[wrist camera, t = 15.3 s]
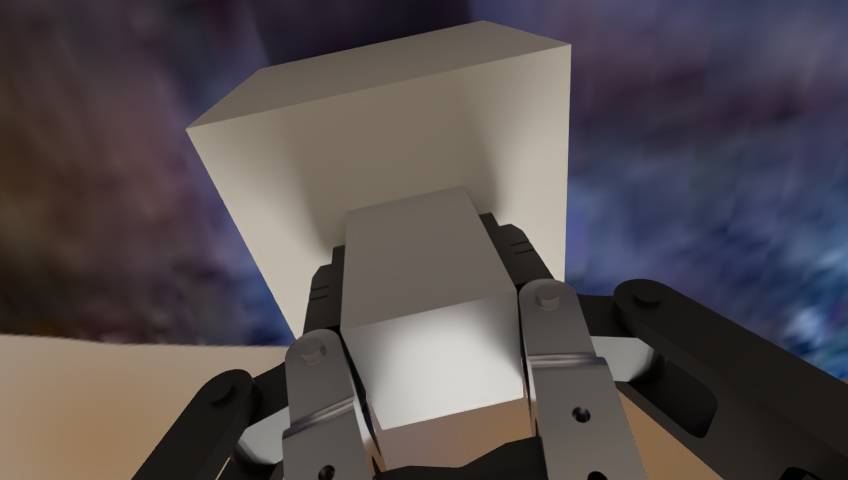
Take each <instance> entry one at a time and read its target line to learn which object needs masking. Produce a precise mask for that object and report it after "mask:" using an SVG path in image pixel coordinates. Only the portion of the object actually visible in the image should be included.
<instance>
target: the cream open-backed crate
mask: <svg viewBox="0 0 848 480" xmlns="http://www.w3.org/2000/svg"><path fill="white" fill-rule="evenodd" d="M570 67H571V44H568V43H564V42H561V41H557V40H554V39H550V38H546V37H543V36H539V35H535V34H532V33H528V32H525V31H521V30H517V29H514V28H510V27H506V26H503V25H499V24H496V23H492V22H488V21H485V20H482V21H477V22H473V23H468V24H464V25H459V26H455V27H450V28H445V29H441V30H436V31H432V32H427V33H422V34H418V35H413V36H409V37H404V38H399V39H395V40H390V41H386V42H381V43H376V44H372V45H367V46H363V47H358V48H353V49H349V50H344V51H340V52H335V53H330V54H326V55H321V56H317V57H312V58H307V59H303V60H298V61H294V62H289V63H284V64H280V65H275V66H271V67H266V68H261V69H259V70H258V71H256V72H255V73H254V74H253V75H251V76H250V77H249V78H248V79H246V80H245V81H244V82H243V83H242V84H240V85H239V86H238V87H237V88H235V89H234V90H233V91H232V92H230V93H229V94H228V95H227V96H225V97H224V98H223V99H222V100H220V101H219V102H218V103H217V104H216V105H214V106H213V107H212V108H211V109H209V110H208V111H207V112H206V113H204V114H203V115H202V116H201V117H199V118H198V119H197V120H196V121H194V122H193V123H192V124H191V125H190V126H188V127H187V128H186V131H187V133H188V135H189V137H190V139H191V141H192V143H193V144H194V146H195V148H196V150H197V152H198V154H199V156H200V158H201V160H202V161H203V163H204V165H205V167H206V169H207V171H208V173H209V175H210V177H211V179H212V180H213V182H214V184H215V186H216V188H217V190H218V192H219V194H220V196H221V197H222V199H223V201H224V203H225V205H226V207H227V209H228V211H229V213H230V215H231V216H232V218H233V220H234V222H235V224H236V226H237V228H238V230H239V232H240V233H241V235H242V237H243V239H244V241H245V243H246V245H247V247H248V249H249V251H250V252H251V254H252V256H253V258H254V260H255V262H256V264H257V266H258V268H259V269H260V271H261V273H262V275H263V277H264V279H265V281H266V283H267V285H268V287H269V288H270V290H271V292H272V294H273V296H274V298H275V300H276V302H277V304H278V305H279V307H280V309H281V311H282V313H283V315H284V317H285V319H286V321H287V323H288V324H289V326H290V328H291V330H292V332H293V334H294V336H295V338H296V340H297V339H298V338H299V337H301V336H302V334H303V328H304V322H305V316H306V311H307V305H308V302H309V293H310V292H311V291H310V287H311V281H312V277H313V276H314V274H315V273H316V272H317V270H318V269H319V267H320V266H323V265H327V264H331V262H332V253H333V247H336V246H341V245H345V260H344V277H343V293H342V309H341V325H340V332H341V334H342V336H343V339H344V341H345V343H346V346H347V348H348V350H349V353H350V355H351V357H352V360H353V362H354V364H355V367H356V369H357V371H358V374H359V376H360V378H361V381H362V383H363V385H364V388H365V390H366V392H367V395H368V397H369V399H370V401H371V404H372V406H373V409H374V411H375V413H376V416H377V418H378V420H379V423H380V425H381V427H382V430H384V429H389V428H394V427H398V426H402V425H407V424H411V423H415V422H419V421H424V420H428V419H432V418H437V417H441V416H445V415H450V414H454V413H458V412H463V411H467V410H471V409H476V408H480V407H484V406H489V405H493V404H497V403H502V402H506V401H510V400H514V399H519V398H523V387H522V370H521V353H520V336H519V320H518V303H517V290H516V288H515V286H514V284H513V282H512V280H511V278H510V276H509V275H508V273H507V271H506V269H505V267H504V265H503V263H502V261H501V259H500V257H499V255H498V253H497V251H496V249H495V247H494V245H493V243H492V241H491V239H490V237H489V235H488V233H487V231H486V229H485V227H484V226H483V224H482V222H481V220H480V218H479V216H478V215H480V214H485V213H489V212H491V213H492V214H493V216H494V217H495V219H496V221H497V223H498V224H499V226H502V225H506V224H512V225H514V226H516V227H518V228H519V229H521V230H523V232H524V233H525V235H526V236H527V238H528V239H529V242H531V244H532V245H533V247H534V248H535V251H537V253H538V254H539V256H540V257H541V259H542V260H543V262H544V263H545V265H546V266H547V268H548V269H549V271H550V272H551V274H552V275H553V277H554V278H555V280H559V281H562V282H564V269H565V235H566V201H567V168H568V134H569V100H570Z"/></svg>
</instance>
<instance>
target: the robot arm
mask: <svg viewBox="0 0 848 480" xmlns="http://www.w3.org/2000/svg"><path fill="white" fill-rule="evenodd" d="M478 216H479V218H480V220H481V222H482V224H483V226H484V227H485V229H486V231H487V233H488V235H489V237H490V239H491V241H492V243H493V245H494V247H495V249H496V251H497V253H498V255H499V257H500V259H501V261H502V263H503V265H504V267H505V269H506V271H507V273H508V275H509V276H510V278H511V280H512V282H513V284H514V286H515V288H516V290H517V303H518V320H519V336H520V353H521V356H522V363H523V374H524V381H525V389H526V396H527V403H528V411H529V419H530V426H531V434H532V437H530V438H526V439H522V440H517V441H513V442H509V443H505V444H504V445H502V446H500V447H498V448H496V449H494V450H493V451H491V452H489V453H487V454H485V455H483V456H482V457H480V458H478V459H476V460H474V461H472V462H471V463H469V464H467V465H465V466H463V467H459V468H450V467H428V466H406V467H401V468H397V469H393V470H389V471H388V470H387V467H386V464H385V460H384V457H383V453H382V450H381V447H380V443H379V440H378V436H377V433H376V430H375V426H374V422H373V419H372V416H371V412H370V409H369V405H368V403H367V400H366V390H365V388H364V385H363V383H362V381H361V378H360V376H359V374H358V371H357V369H356V367H355V364H354V362H353V360H352V357H351V355H350V353H349V350H348V348H347V346H346V343H345V341H344V339H343V336H342V334H341V332H340V325H341V309H342V293H343V277H344V260H345V245H341V246H336V247H333V253H332V262H331V264H327V265H323V266H320V267H319V269H318V270H317V272H316V273H315V274H314V276H313V277H312V281H311V287H310V291H311V292H310V293H309V302H308V305H307V311H306V316H305V322H304V328H303V334H302V336H301V337H299V338H298V339H297V340H296V341H295V342H293V344H292V345H291V346H290V347H289V349H288V351H287V353H286V356H285V362H283V363H282V364H280V365H278V366H277V367H275V368H273V369H271V370H269V371H267V372H265V373H263V374H261V375H259V376H257V377H255V378H252V377H251V375H250V374H249V373H248V372H247V371H245V370H241V369H234V370H229V371H225V372H223V373H221V374H219V375H217V376H215V377H214V378H212V379H211V380H209V381H208V382H207V383H206V384H205V385H204V386H203V387H202V388H201V389H200V390H199V391H198V392H197V394H196V395H195V396H194V398H193V399H192V400H191V402H190V403H189V404H188V405H187V407H186V408H185V409H184V411H183V412H182V413H181V415H180V416H179V417H178V419H177V420H176V421H175V423H174V424H173V425H172V427H171V428H170V429H169V431H168V432H167V433H166V434H165V436H164V437H163V439H162V440H161V441H160V442H159V444H158V445H157V446H156V448H155V449H154V451H153V452H152V453H151V454H150V455H149V457H148V458H147V459H146V461H145V462H144V463H143V465H142V466H141V467H140V469H139V470H138V471H137V473H136V474H135V475H134V477H133V478H132V479H131V480H215V479H216V478H217V476H218V474H219V473H220V471H221V469H222V467H223V466H224V464H225V462H226V461H227V459H228V458H230V460H229V461H228V463H227V465H226V467H225V468H224V470H223V471H222V473H221V475H220V477H219V478H218V480H282V479H283V477H284V480H648V477H647V474H646V471H645V468H644V466H643V463H642V460H641V457H640V454H639V452H638V448H637V445H636V443H635V440H634V437H633V434H632V431H631V428H630V425H629V423H628V420H627V417H626V414H625V411H624V408H623V405H622V402H621V400H620V397H619V394H618V391H617V389H618V390H619V391H620V392H621V393H623V394H624V395H625V396H626V397H627V398H629V399H630V400H631V401H632V402H633V403H634V404H636V405H637V406H638V407H639V408H640V409H641V410H643V411H644V412H645V413H646V414H647V415H649V416H650V417H651V418H652V419H653V420H654V421H656V422H657V423H658V424H659V425H660V426H662V427H663V428H664V429H665V430H666V431H668V432H669V433H670V434H671V435H672V436H674V438H676V439H677V440H678V441H679V442H681V443H682V444H683V445H684V446H685V447H686V448H687V449H689V450H690V451H691V452H692V453H693V454H695V455H696V456H697V457H698V458H699V459H701V460H702V461H703V462H704V463H705V464H706V465H708V466H709V467H710V468H711V469H712V470H714V471H715V472H716V473H717V474H718V475H720V476H721V477H722V478H723V479H724V480H848V384H846V383H844V382H843V381H841V380H839V379H837V378H835V377H833V376H832V375H830V374H828V373H826V372H824V371H822V370H821V369H819V368H817V367H815V366H813V365H811V364H810V363H808V362H806V361H804V360H802V359H800V358H798V357H797V356H795V355H793V354H791V353H789V352H787V351H786V350H784V349H782V348H780V347H778V346H776V345H775V344H773V343H771V342H769V341H767V340H765V339H764V338H762V337H760V336H758V335H756V334H754V333H753V332H751V331H749V330H747V329H745V328H743V327H742V326H740V325H738V324H736V323H734V322H732V321H731V320H729V319H727V318H725V317H723V316H721V315H720V314H718V313H716V312H714V311H712V310H710V309H708V308H707V307H705V306H703V305H701V304H699V303H697V302H696V301H694V300H692V299H690V298H688V297H686V296H685V295H683V294H681V293H679V292H677V291H675V290H674V289H672V288H670V287H668V286H666V285H664V284H662V283H659V282H656V281H652V280H647V279H633V280H628V281H625V282H623V283H621V284H620V285H618V286H617V287H616V289H615V291H614V296H590V295H581V294H577V293H576V292H575V291H574V290H573V288H572V287H570V286H569V285H568V284H566V283H564V282H562V281H559V280H555V278H554V277H553V275H552V274H551V272H550V271H549V269H548V268H547V266H546V265H545V263H544V262H543V260H542V259H541V257H540V256H539V254H538V253H537V251H535V248H534V247H533V245H532V244H531V242H529V239H528V238H527V236H526V235H525V233H524V232H523V230H521V229H519V228H518V227H516V226H514V225H512V224H506V225H502V226H499V224H498V223H497V221H496V219H495V217H494V216H493V214H492V213H491V212H489V213H485V214H480V215H478Z"/></svg>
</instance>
